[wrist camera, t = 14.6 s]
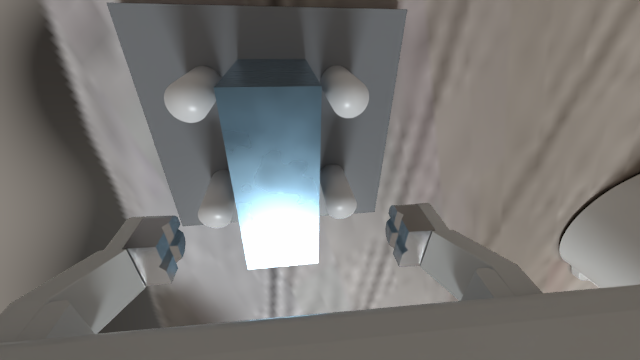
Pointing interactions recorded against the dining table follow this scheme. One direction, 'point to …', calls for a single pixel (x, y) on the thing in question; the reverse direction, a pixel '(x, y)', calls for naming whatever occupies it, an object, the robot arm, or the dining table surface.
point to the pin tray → (261, 43)
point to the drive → (273, 157)
